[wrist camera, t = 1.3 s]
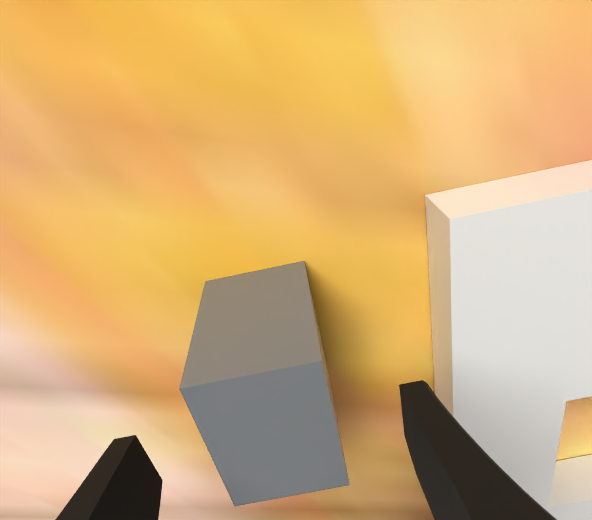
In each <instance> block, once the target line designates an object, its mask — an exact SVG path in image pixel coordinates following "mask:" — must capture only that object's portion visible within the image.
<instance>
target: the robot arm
mask: <svg viewBox="0 0 592 520" xmlns="http://www.w3.org/2000/svg"><path fill="white" fill-rule="evenodd" d="M399 386H400V396H401V405H402V415H403V424H404V434H405V438H406V442H407V445H408V448H409V452H410V455H411V458H412V461H413V465H414V468H415V471H416V474H417V477H418V480H419V482H420V484H421V487H422V489H423V492H424V494H425V497H426V499H427V502H428V504H429V507H430V509H431V511H432V514H433V516H434V519H435V520H557V519H555V518H554V517H553V516H552V515H551V514H550V513H549V512H547V511H546V510H545V509H544V508H543V507H542V506H541V505H540V504H538V503H537V502H536V501H535V500H534V499H533V498H532V497H531V496H530V495H529V494H527V493H526V492H525V491H524V490H523V489H522V488H521V487H520V486H519V485H518V484H517V483H516V482H515V481H514V480H513V479H512V478H511V477H510V476H509V475H508V474H507V473H506V472H505V471H503V470H502V469H501V468H500V467H499V466H498V465H497V464H496V463H495V462H494V460H493V459H492V458H491V457H490V456H489V455H488V454H487V453H486V452H485V451H484V450H483V449H482V448H481V447H480V446H479V445H478V444H477V443H476V442H475V440H474V439H473V438H472V437H471V436H470V435H469V434H468V433H467V432H466V431H465V430H464V428H463V427H462V426H461V425H460V424H459V423H458V422H457V420H456V419H455V418H454V417H453V416H452V415H451V413H450V412H449V411H448V410H447V409H446V407H445V406H444V405H443V404H442V402H441V401H440V400H439V399H438V397H437V396H436V395H435V393H434V392H433V391H432V390H431V388H430V387H429V385H428V384H427V383H426V382H424V381H423V380H421V381H416V382H411V383H406V384H400V385H399ZM161 490H162V479H161V477H160V475H159V474H158V472H157V470H156V469H155V467H154V465H153V464H152V462H151V460H150V458H149V457H148V455H147V453H146V452H145V450H144V448H143V447H142V445H141V443H140V442H139V440H138V438H137V437H136V435H133V436H128V437H123V438H118V439H114V440H113V441H112V443H111V444H110V445H109V447H108V448H107V449H106V451H105V452H104V453H103V455H102V456H101V458H100V459H99V460H98V462H97V463H96V465H95V466H94V467H93V469H92V470H91V472H90V473H89V475H88V476H87V477H86V479H85V480H84V481H83V483H82V484H81V486H80V487H79V488H78V490H77V491H76V493H75V494H74V495H73V497H72V498H71V499H70V501H69V502H68V504H67V505H66V506H65V508H64V509H63V510H62V512H61V513H60V514H59V516H58V517H57V519H56V520H158V516H159V508H160V500H161Z"/></svg>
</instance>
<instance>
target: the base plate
mask: <svg viewBox="0 0 592 520" xmlns="http://www.w3.org/2000/svg"><path fill="white" fill-rule="evenodd" d="M425 200H426V221H427V242H428V263H429V284H430V304H431V325H432V346H433V367H434V387H435V395H436V396H437V397H438V399H439V400H440V401H441V402H442V404H443V405H444V406H445V407H446V409H447V410H448V411H449V412H450V413H451V415H452V416H453V417H454V418H455V419H456V420H457V422H458V423H459V424H460V425H461V426H462V427H463V428H464V430H465V431H466V432H467V433H468V434H469V435H470V436H471V437H472V438H473V439H474V440H475V442H476V443H477V444H478V445H479V446H480V447H481V448H482V449H483V450H484V451H485V452H486V453H487V454H488V455H489V456H490V457H491V458H492V459H493V460H494V462H495V463H496V464H497V465H498V466H499V467H500V468H501V469H502V470H503V471H505V472H506V473H507V474H508V475H509V476H510V477H511V478H512V479H513V480H514V481H515V482H516V483H517V484H518V485H519V486H520V487H521V488H522V489H523V490H524V491H525V492H526V493H527V494H529V495H530V496H531V497H532V498H533V499H534V500H535V501H536V502H537V503H538V504H540V505H541V506H542V507H543V508H544V509H545V510H546V511H547V512H549V513H550V514H551V515H552V516H553V517H554V518H555V519H557V520H592V455H586V456H581V457H575V458H570V459H564V460H559V461H556V458H557V452H558V446H559V440H560V434H561V429H562V423H563V417H564V411H565V406H566V401H569V400H575V399H580V398H585V397H591V396H592V160H589V161H584V162H579V163H574V164H570V165H565V166H560V167H555V168H551V169H546V170H541V171H536V172H532V173H527V174H522V175H517V176H513V177H508V178H503V179H499V180H494V181H489V182H484V183H480V184H475V185H470V186H465V187H461V188H456V189H451V190H446V191H442V192H437V193H432V194H427V195H425Z"/></svg>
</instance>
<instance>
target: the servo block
mask: <svg viewBox="0 0 592 520" xmlns="http://www.w3.org/2000/svg"><path fill="white" fill-rule="evenodd" d="M179 389H180V391H181V393H182V395H183V398H184V400H185V402H186V404H187V406H188V408H189V410H190V412H191V415H192V417H193V419H194V421H195V423H196V425H197V427H198V429H199V432H200V434H201V436H202V438H203V440H204V442H205V444H206V446H207V449H208V451H209V453H210V455H211V457H212V459H213V461H214V463H215V466H216V468H217V470H218V472H219V474H220V476H221V478H222V480H223V483H224V485H225V487H226V489H227V491H228V493H229V495H230V497H231V500H232V502H233V504H234V506H239V505H245V504H250V503H255V502H261V501H266V500H272V499H277V498H282V497H288V496H293V495H298V494H304V493H309V492H315V491H320V490H325V489H331V488H336V487H342V486H347V485H349V479H348V474H347V469H346V463H345V458H344V453H343V448H342V442H341V437H340V432H339V426H338V421H337V416H336V410H335V405H334V400H333V394H332V389H331V384H330V379H329V373H328V368H327V363H326V359H325V354H324V349H323V345H322V340H321V336H320V331H319V326H318V322H317V317H316V312H315V308H314V303H313V299H312V294H311V289H310V285H309V280H308V276H307V271H306V266H305V262H304V261H302V262H297V263H292V264H287V265H282V266H277V267H273V268H268V269H263V270H258V271H253V272H248V273H243V274H239V275H234V276H229V277H224V278H219V279H214V280H209V281H206V282H205V286H204V290H203V294H202V298H201V302H200V306H199V310H198V314H197V318H196V323H195V327H194V331H193V335H192V339H191V343H190V347H189V351H188V355H187V359H186V364H185V368H184V372H183V376H182V380H181V384H180V388H179Z"/></svg>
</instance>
